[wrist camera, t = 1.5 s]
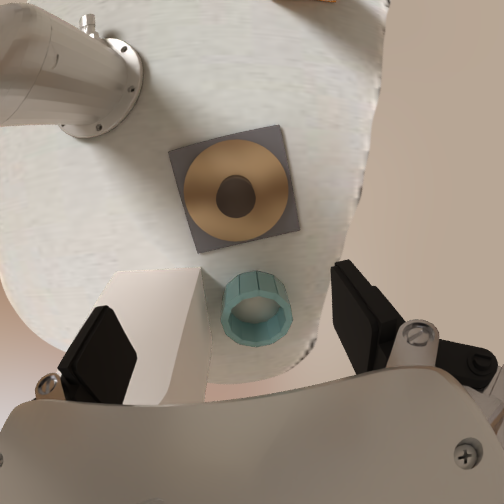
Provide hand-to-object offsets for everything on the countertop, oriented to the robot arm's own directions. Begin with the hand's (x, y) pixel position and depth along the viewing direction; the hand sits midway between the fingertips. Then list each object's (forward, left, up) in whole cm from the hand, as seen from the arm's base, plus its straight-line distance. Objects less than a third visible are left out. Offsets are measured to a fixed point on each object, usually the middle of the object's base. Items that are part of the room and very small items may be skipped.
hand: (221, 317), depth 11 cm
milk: (+12, -12, -21) cm, 27 cm away
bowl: (+13, 0, -21) cm, 24 cm away
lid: (-1, +1, -20) cm, 20 cm away
